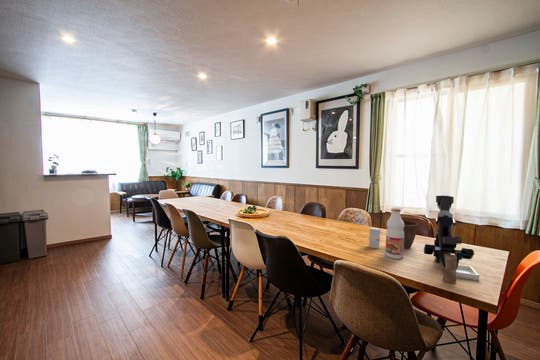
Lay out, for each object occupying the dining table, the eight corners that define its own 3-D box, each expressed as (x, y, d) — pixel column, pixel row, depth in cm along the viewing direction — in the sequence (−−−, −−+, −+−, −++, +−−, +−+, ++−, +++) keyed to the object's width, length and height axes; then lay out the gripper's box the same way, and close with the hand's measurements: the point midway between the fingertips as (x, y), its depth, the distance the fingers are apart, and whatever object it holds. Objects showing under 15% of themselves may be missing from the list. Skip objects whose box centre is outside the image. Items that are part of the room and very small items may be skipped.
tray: (447, 275, 120) (448, 270, 120) (442, 266, 131) (442, 262, 131) (479, 280, 115) (479, 275, 115) (470, 270, 126) (470, 265, 126)
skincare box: (368, 247, 163) (369, 228, 162) (369, 245, 167) (370, 227, 166) (379, 248, 160) (379, 230, 159) (379, 246, 164) (380, 228, 163)
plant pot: (415, 252, 154) (416, 226, 153) (389, 247, 163) (390, 222, 162) (418, 246, 166) (419, 222, 165) (394, 241, 175) (394, 219, 174)
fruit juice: (407, 259, 142) (408, 210, 140) (391, 259, 141) (393, 210, 140) (397, 253, 151) (398, 207, 150) (382, 253, 150) (383, 207, 149)
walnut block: (444, 282, 113) (446, 256, 112) (442, 279, 117) (443, 253, 116) (455, 284, 111) (456, 257, 111) (453, 280, 115) (454, 255, 114)
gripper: (425, 227, 120) (429, 257, 110) (473, 231, 113) (482, 263, 103) (422, 238, 128) (425, 268, 118) (467, 243, 120) (474, 275, 111)
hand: (450, 268), depth 112 cm, fingers closed on walnut block, 4 cm apart
